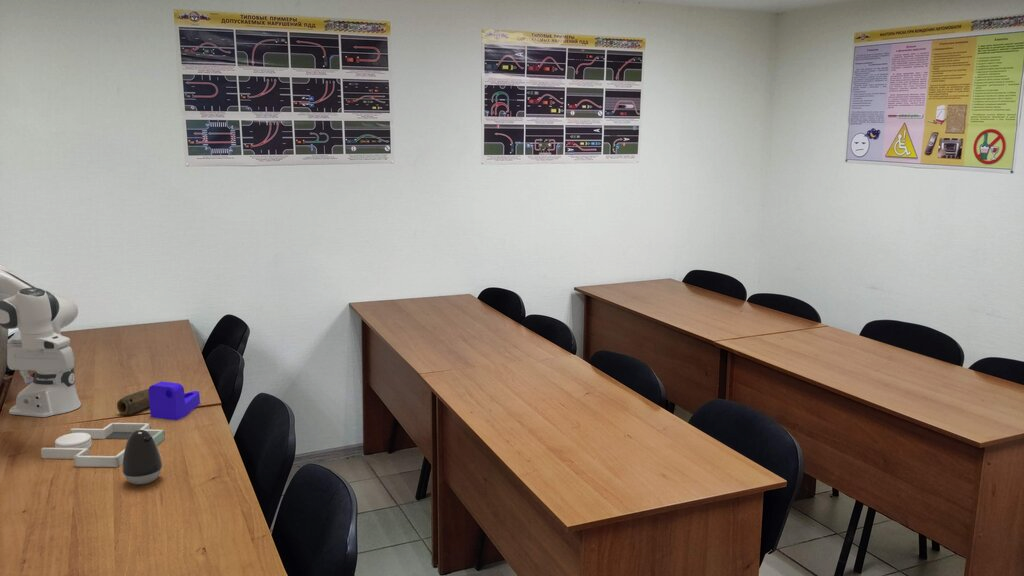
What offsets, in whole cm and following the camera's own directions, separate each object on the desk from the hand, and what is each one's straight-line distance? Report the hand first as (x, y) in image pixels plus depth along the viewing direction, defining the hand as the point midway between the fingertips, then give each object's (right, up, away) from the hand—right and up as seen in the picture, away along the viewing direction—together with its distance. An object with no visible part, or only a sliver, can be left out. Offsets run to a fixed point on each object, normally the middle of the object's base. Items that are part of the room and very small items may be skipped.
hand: (43, 383), depth 252 cm
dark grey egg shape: (+41, -25, -22) cm, 53 cm away
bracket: (+29, -14, +35) cm, 47 cm away
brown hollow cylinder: (+14, -14, +35) cm, 40 cm away
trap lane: (+19, -20, +1) cm, 28 cm away
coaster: (+9, -21, +1) cm, 23 cm away
